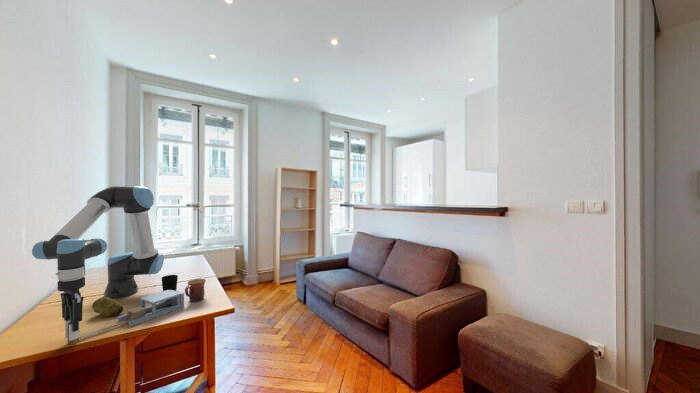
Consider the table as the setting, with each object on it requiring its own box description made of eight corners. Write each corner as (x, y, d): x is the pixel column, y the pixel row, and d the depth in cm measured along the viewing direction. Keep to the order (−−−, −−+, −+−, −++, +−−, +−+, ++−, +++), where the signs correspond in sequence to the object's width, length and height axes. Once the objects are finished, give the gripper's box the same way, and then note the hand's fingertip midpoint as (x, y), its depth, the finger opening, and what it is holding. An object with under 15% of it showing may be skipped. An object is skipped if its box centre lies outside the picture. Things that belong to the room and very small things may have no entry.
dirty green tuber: (105, 321, 123) (104, 303, 123) (89, 316, 128) (88, 299, 128) (125, 313, 131) (125, 297, 131) (109, 309, 135) (109, 293, 135)
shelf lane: (117, 321, 123) (117, 305, 123) (171, 302, 144) (171, 288, 144) (130, 326, 118) (130, 309, 118) (184, 306, 139) (183, 292, 139)
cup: (180, 296, 152) (180, 275, 152) (166, 301, 145) (166, 279, 145) (172, 294, 155) (172, 274, 155) (158, 299, 148) (158, 277, 148)
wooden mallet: (65, 342, 105) (65, 325, 105) (140, 316, 127) (139, 302, 127) (70, 346, 103) (70, 328, 103) (145, 319, 125) (145, 304, 125)
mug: (196, 295, 153) (196, 278, 153) (209, 297, 152) (209, 279, 151) (178, 304, 142) (178, 285, 141) (193, 305, 140) (192, 286, 140)
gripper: (49, 278, 105) (50, 337, 105) (66, 284, 98) (67, 348, 98) (75, 273, 112) (76, 328, 112) (93, 278, 104) (94, 338, 105)
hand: (72, 337), depth 105 cm, fingers closed on wooden mallet, 3 cm apart
